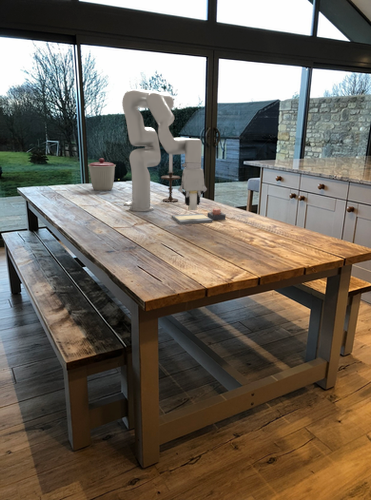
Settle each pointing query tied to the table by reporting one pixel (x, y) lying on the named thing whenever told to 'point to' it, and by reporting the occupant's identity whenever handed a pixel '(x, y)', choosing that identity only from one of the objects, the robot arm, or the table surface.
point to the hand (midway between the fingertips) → (192, 204)
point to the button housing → (216, 216)
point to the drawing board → (191, 218)
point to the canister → (102, 175)
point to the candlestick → (170, 181)
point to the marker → (192, 200)
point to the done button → (216, 211)
